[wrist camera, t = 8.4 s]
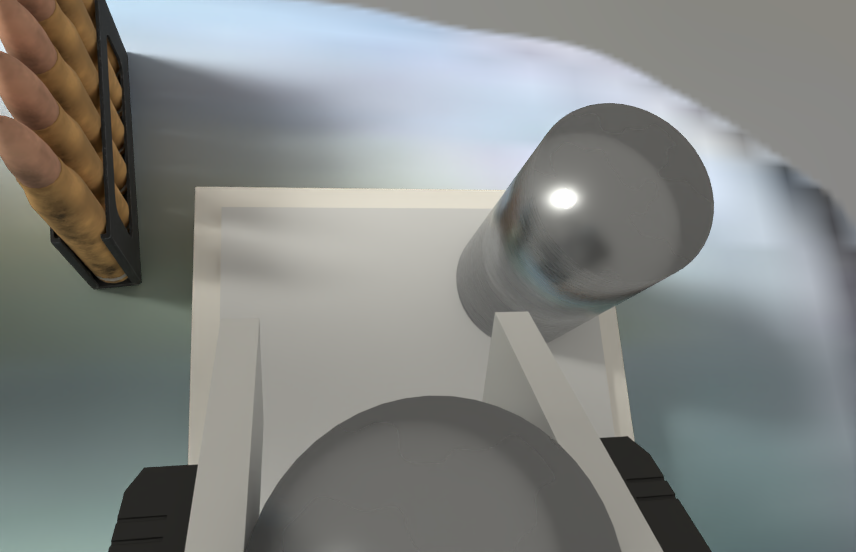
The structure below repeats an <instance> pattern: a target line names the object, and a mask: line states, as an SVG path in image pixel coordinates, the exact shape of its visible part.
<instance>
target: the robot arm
mask: <svg viewBox="0 0 856 552" xmlns="http://www.w3.org/2000/svg"><path fill="white" fill-rule="evenodd" d="M482 402H485V403H488V404H492V405H495V406H498V407H500V408H503V409H505V410H507V411H509V412H512V413H514V414H516V415H518V416H520V417H522V418H523V419H525V420H527V421H528V422H530V423H532V424H533V425H535V426H537V427H538V428H540V429H541V430H542V431H543V432H545V433H546V434H547V435H548V436H550V437H551V438H552V439H553V440H555V441H556V442H557V443H558V444H559V445H560V446H561V447H562V448H563V449H564V450H565V451H566V452H567V453H568V454H569V455H570V456H571V457H572V458H573V459H574V460H575V461H576V462H577V464H578V465H579V466H580V468H581V469H582V470H583V472H584V473H585V474H586V476H587V477H588V478H589V479H590V481H591V483H592V484H593V486H594V488H595V489H596V491H597V493H598V494H599V496H600V498H601V500H602V501H603V503H604V505H605V508H606V510H607V512H608V514H609V517H610V519H611V521H612V524H613V526H614V529H615V532H616V535H617V539H618V542H619V545H620V548H621V552H711V550H710V548H709V547H708V545H707V544H706V542H705V540H704V539H703V537H702V536H701V534H700V533H699V531H698V529H697V528H696V526H695V525H694V523H693V522H692V520H691V518H690V517H689V515H688V514H687V512H686V511H685V509H684V507H683V506H682V504H681V503H680V501H679V500H678V499H676V498H675V493H674V492H673V490H672V489H671V487H670V485H669V484H668V482H667V481H664V476H663V474H662V473H661V471H660V470H659V468H658V466H657V465H656V463H655V462H654V460H653V459H652V457H651V455H650V454H649V453H647V452H646V451H645V450H644V449H643V448H641V447H640V446H639V445H638V444H637V443H635V442H634V441H633V440H632V439H631V438H629V437H628V436H623V437H606V438H599V436H598V434H597V433H596V431H595V429H594V427H593V426H592V424H591V422H590V420H589V418H588V417H587V415H586V413H585V411H584V410H583V408H582V406H581V404H580V402H579V401H578V399H577V397H576V395H575V394H574V392H573V390H572V388H571V386H570V385H569V383H568V381H567V379H566V378H565V376H564V374H563V372H562V370H561V369H560V367H559V365H558V363H557V362H556V360H555V358H554V356H553V354H552V353H551V351H550V349H549V347H548V346H547V344H546V342H545V340H544V338H543V337H542V335H541V333H540V331H539V330H538V328H537V326H536V324H535V322H534V321H533V319H532V317H531V315H530V314H529V312H528V311H526V312H495V315H494V322H493V329H492V336H491V343H490V350H489V357H488V364H487V371H486V378H485V385H484V392H483V399H482ZM263 428H264V417H263V394H262V370H261V347H260V323H259V318H245V319H221V321H220V327H219V333H218V340H217V346H216V353H215V359H214V366H213V372H212V378H211V385H210V391H209V398H208V404H207V410H206V417H205V423H204V430H203V436H202V443H201V449H200V455H199V462H198V464H196V465H180V466H163V467H147V468H143V470H142V471H141V472H140V473H139V475H138V476H137V477H136V478H135V479H134V481H133V482H132V483H131V484H130V486H129V487H128V488H127V489H126V491H125V492H124V496H123V499H122V503H121V507H120V511H119V514H118V518H117V524H116V525H115V529H114V533H113V536H112V540H111V546H110V548H109V551H108V552H246V549H247V546H248V543H249V540H250V537H251V534H252V530H253V528H254V526H255V524H256V522H257V520H258V517H259V515H260V493H261V471H262V449H263Z"/></svg>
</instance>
